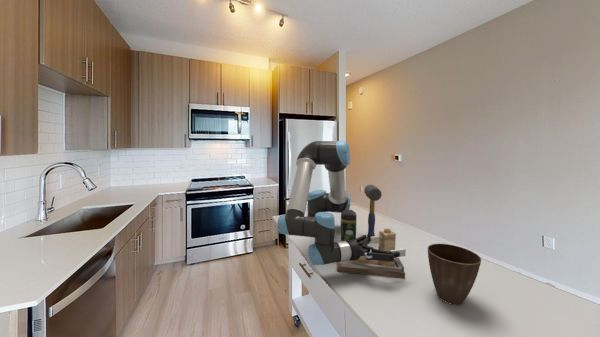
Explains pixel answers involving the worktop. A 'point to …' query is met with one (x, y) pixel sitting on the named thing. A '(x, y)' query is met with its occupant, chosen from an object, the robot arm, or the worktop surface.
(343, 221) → the coffee jar
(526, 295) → the worktop surface
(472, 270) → the plant pot
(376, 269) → the walnut board
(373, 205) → the rubber mallet
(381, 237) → the beige tall block
